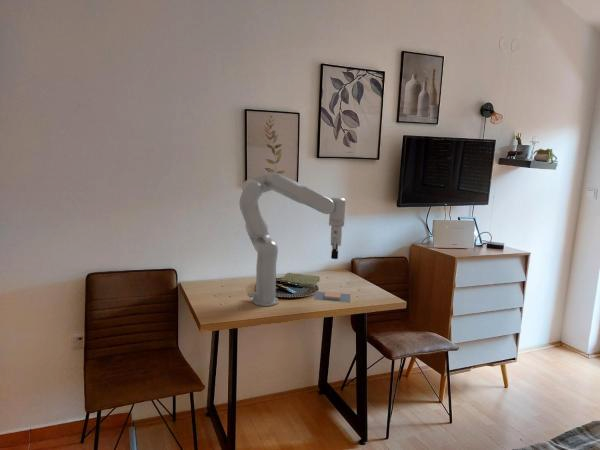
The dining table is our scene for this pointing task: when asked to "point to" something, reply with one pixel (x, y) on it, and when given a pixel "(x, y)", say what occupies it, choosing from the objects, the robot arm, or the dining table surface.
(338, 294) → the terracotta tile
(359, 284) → the dining table surface
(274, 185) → the robot arm
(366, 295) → the dining table surface
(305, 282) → the decorative tile
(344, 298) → the rubber mat
